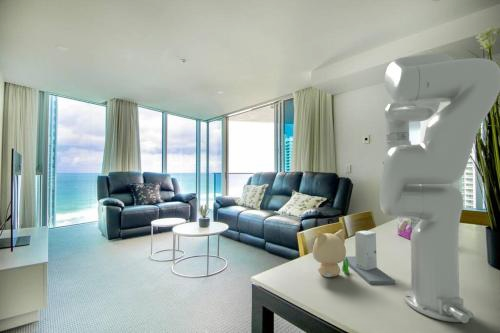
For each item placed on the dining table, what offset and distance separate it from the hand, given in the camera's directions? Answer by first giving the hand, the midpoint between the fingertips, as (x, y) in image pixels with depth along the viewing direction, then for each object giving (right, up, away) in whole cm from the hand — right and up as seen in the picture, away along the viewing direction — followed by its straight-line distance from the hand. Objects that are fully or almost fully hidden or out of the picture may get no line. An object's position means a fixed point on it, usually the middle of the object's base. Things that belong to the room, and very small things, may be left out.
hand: (398, 182), depth 89 cm
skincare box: (-17, -29, -9) cm, 35 cm away
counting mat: (-18, -30, -9) cm, 36 cm away
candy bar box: (+25, -31, +30) cm, 50 cm away
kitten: (-31, -30, -13) cm, 45 cm away
